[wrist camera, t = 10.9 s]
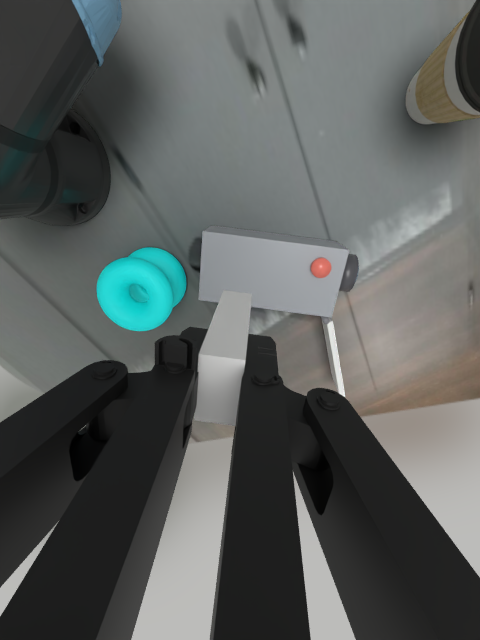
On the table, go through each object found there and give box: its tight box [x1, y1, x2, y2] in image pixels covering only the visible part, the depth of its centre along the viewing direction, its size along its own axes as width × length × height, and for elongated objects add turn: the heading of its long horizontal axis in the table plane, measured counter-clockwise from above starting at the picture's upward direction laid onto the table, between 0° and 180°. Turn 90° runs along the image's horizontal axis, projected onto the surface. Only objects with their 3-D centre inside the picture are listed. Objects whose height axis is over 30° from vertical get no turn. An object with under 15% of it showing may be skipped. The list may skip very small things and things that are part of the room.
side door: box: [320, 316, 345, 397], centre depth 45 cm, size 14×2×6 cm, turn 15°
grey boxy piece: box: [199, 225, 359, 318], centre depth 40 cm, size 20×9×8 cm, turn 83°
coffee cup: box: [405, 0, 480, 124], centre depth 28 cm, size 10×10×15 cm
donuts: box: [97, 247, 187, 331], centre depth 41 cm, size 10×10×10 cm
